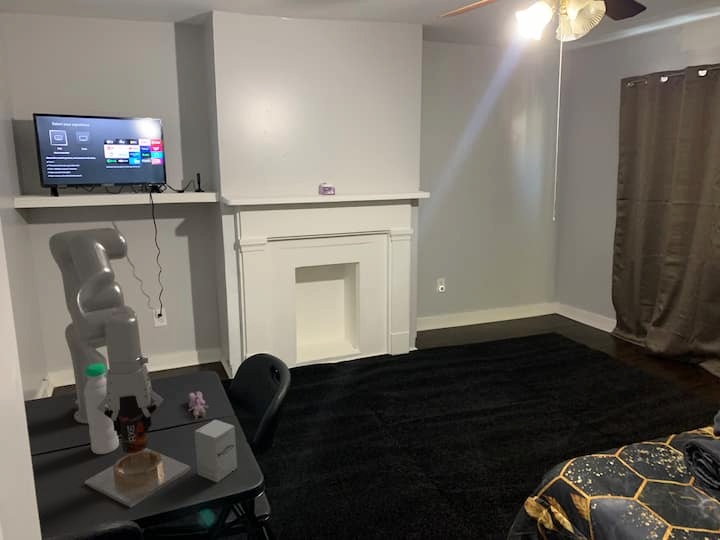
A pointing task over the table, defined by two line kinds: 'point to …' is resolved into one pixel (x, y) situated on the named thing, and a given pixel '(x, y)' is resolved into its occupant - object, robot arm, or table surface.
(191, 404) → the pink plush toy
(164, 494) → the table surface
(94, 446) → the water bottle
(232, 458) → the supplement box
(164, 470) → the base
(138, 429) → the deodorant
